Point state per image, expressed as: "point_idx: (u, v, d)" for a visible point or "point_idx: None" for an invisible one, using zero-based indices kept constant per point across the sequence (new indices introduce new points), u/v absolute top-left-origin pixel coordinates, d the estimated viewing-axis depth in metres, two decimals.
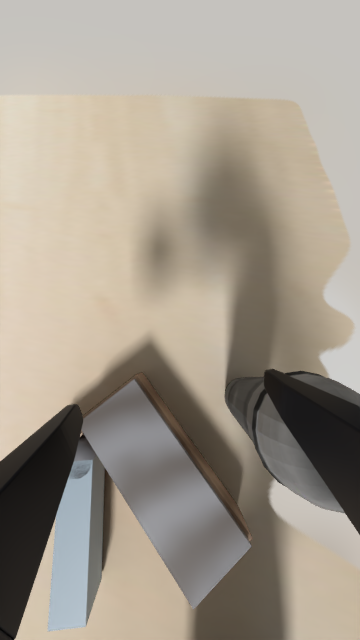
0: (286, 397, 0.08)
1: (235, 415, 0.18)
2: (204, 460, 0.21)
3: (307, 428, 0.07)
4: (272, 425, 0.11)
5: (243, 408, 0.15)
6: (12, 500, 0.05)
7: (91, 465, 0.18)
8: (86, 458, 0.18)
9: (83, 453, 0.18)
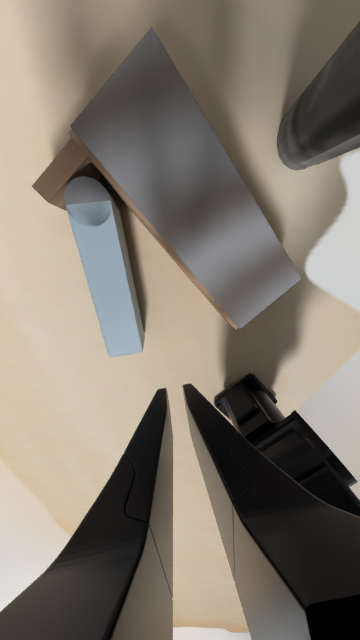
0: (189, 415, 0.07)
1: (319, 110, 0.12)
2: None
3: (199, 450, 0.07)
4: None
5: None
6: (162, 469, 0.05)
7: (110, 209, 0.13)
8: (101, 198, 0.13)
9: (94, 191, 0.13)
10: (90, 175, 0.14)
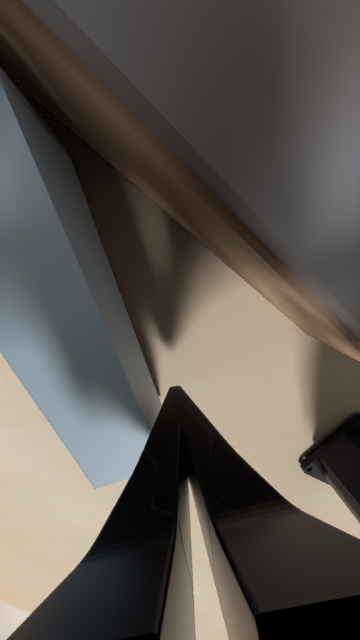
0: None
1: None
2: None
3: (184, 453, 0.07)
4: None
5: None
6: (181, 465, 0.05)
7: (9, 112, 0.04)
8: None
9: None
10: None
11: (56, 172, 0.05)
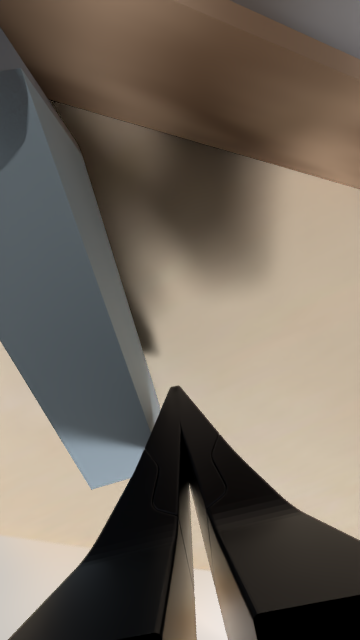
0: None
1: None
2: None
3: None
4: None
5: None
6: (182, 464, 0.05)
7: (29, 106, 0.04)
8: None
9: None
10: None
11: (70, 168, 0.05)
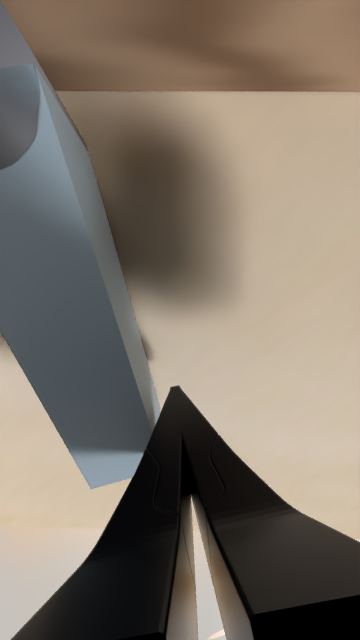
0: None
1: None
2: None
3: None
4: None
5: None
6: (183, 464, 0.05)
7: (41, 102, 0.04)
8: None
9: None
10: None
11: (79, 165, 0.05)
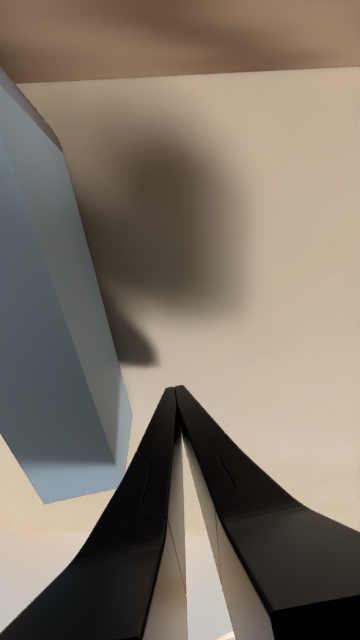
0: (179, 417, 0.07)
1: None
2: None
3: (188, 452, 0.07)
4: None
5: None
6: (174, 466, 0.05)
7: None
8: None
9: None
10: None
11: (38, 167, 0.05)
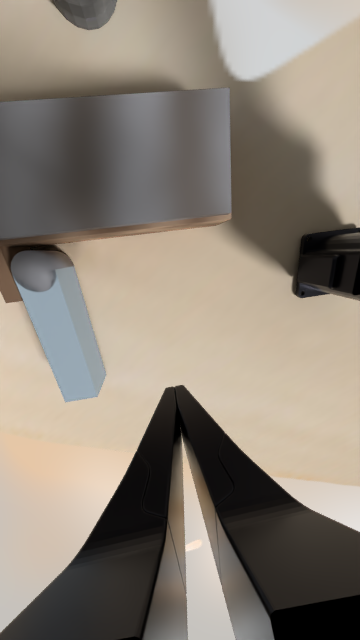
0: (179, 417, 0.07)
1: None
2: None
3: (189, 452, 0.07)
4: None
5: None
6: (175, 466, 0.05)
7: (56, 276, 0.14)
8: (46, 268, 0.14)
9: (39, 262, 0.14)
10: None
11: (67, 282, 0.15)
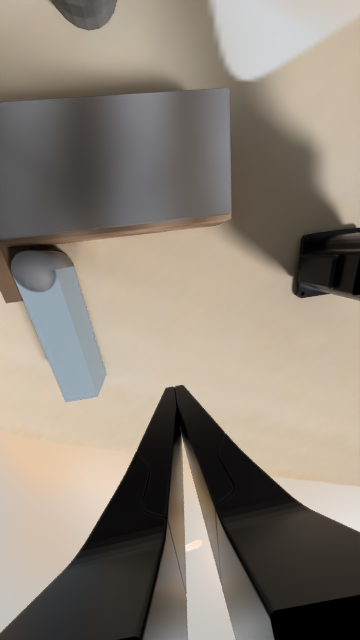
0: (179, 417, 0.07)
1: None
2: None
3: (189, 452, 0.07)
4: None
5: None
6: (175, 466, 0.05)
7: (56, 276, 0.14)
8: (46, 268, 0.14)
9: (39, 262, 0.14)
10: None
11: (67, 282, 0.15)
